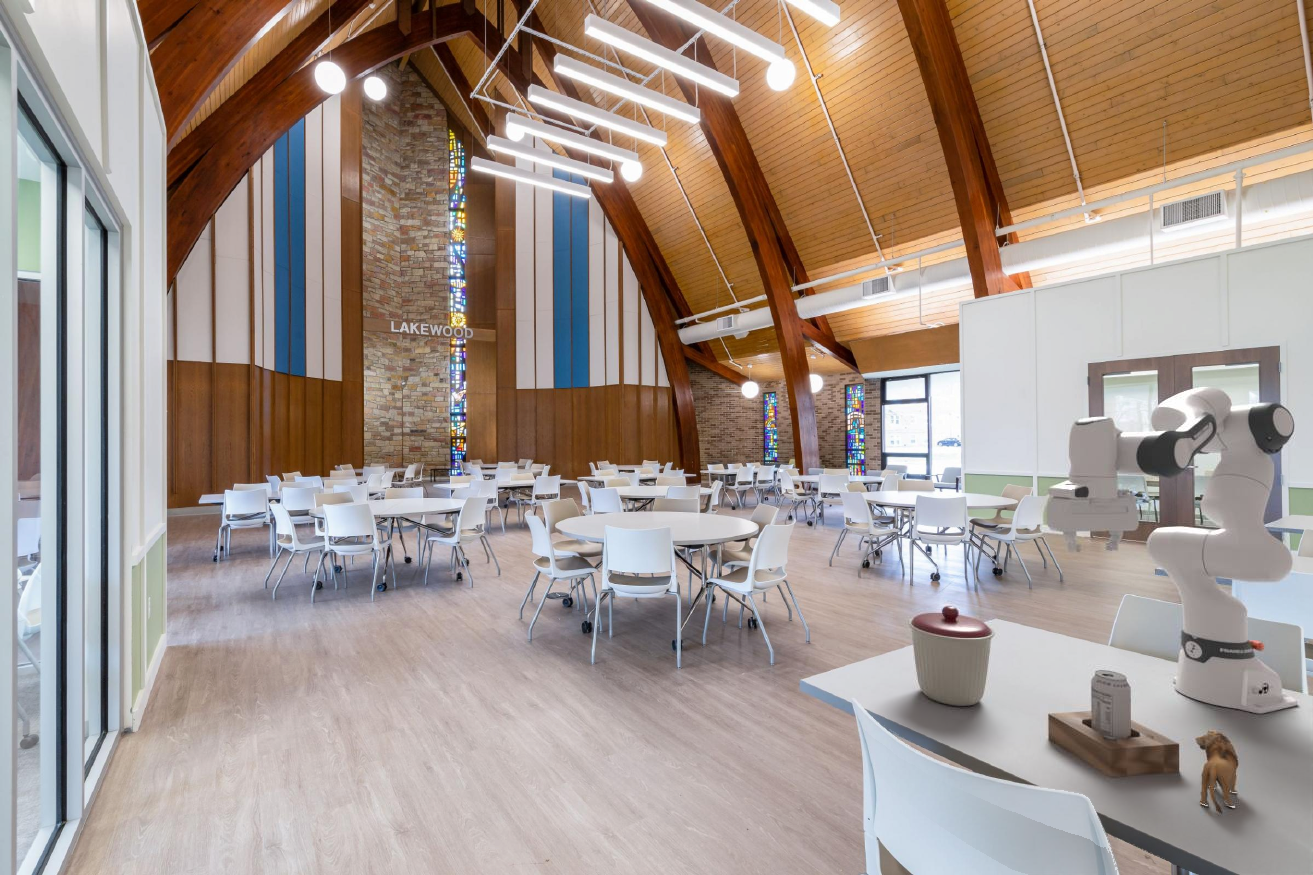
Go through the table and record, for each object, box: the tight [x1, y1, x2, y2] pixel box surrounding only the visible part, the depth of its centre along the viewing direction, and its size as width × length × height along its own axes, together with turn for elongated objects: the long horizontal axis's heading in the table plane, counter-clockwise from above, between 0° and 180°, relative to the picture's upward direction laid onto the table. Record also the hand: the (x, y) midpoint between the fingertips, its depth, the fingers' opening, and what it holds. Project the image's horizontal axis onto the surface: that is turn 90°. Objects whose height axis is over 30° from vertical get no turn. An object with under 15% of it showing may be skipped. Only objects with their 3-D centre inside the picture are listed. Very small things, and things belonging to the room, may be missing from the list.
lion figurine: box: [1194, 729, 1239, 815], centre depth 100 cm, size 15×5×9 cm, turn 140°
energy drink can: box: [1090, 669, 1132, 739], centre depth 114 cm, size 6×6×15 cm
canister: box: [907, 605, 996, 707], centre depth 140 cm, size 18×18×21 cm
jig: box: [1047, 710, 1180, 778], centre depth 114 cm, size 14×14×5 cm
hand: (1093, 551), depth 134 cm, fingers open, 8 cm apart
